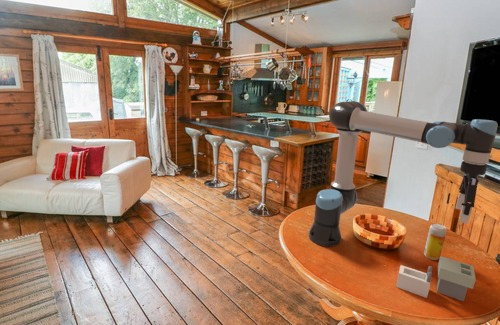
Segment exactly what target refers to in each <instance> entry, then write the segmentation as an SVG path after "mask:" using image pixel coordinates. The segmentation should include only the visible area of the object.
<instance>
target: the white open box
mask: <svg viewBox="0 0 500 325" xmlns="http://www.w3.org/2000/svg"><path fill="white" fill-rule="evenodd" d="M432 271H433V266H431V265H429V266H428V268H427V271H426V272H424V271H420V270H418V269H414V268H411V267H408V266H405V265H402V264H400V266H399V271H398V275H397V280H396V285H395V287H396V288H398V289H401V290H403V291H406V292H408V293H411V294H413V295H414V294H415V295H417V296H420V297H422V298H425V299H427V298H428V295H429V292H430V288H431V281H432V276H433V273H432Z"/></svg>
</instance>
